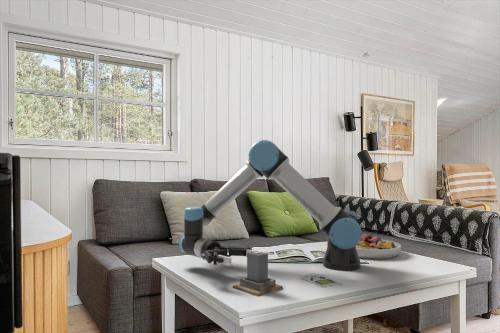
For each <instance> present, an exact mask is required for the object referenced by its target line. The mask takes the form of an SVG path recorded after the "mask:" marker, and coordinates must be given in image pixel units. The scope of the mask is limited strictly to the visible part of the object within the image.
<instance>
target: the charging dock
mask: <svg viewBox="0 0 500 333" xmlns="http://www.w3.org/2000/svg"><path fill="white" fill-rule="evenodd" d="M276 281H277V280H276V279H275V278H274V279H273V278H271V277H268V281H266V282H262V283H255V282H252V281H249V280H247V276H244V277H242V278H241V277H240V278H239V283H235V284H233V285H232V288H233V289H235V290H239V291H242V292H243V293H247V294H249V295H250V294H251V295H252V296H256V297H260V296H262V295H265V294H269V293H272V292H275V291H279V290H281V289H283V285H280V284H276V283H277V282H276Z"/></svg>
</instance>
